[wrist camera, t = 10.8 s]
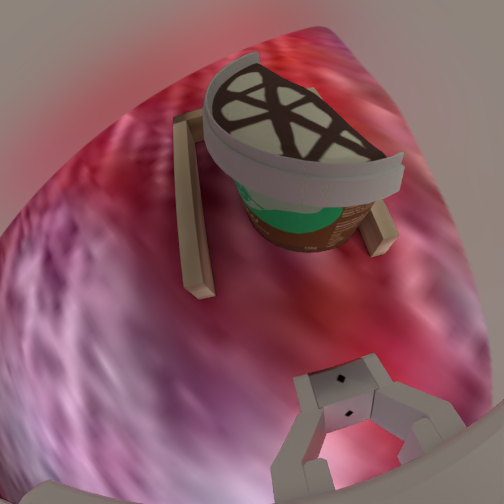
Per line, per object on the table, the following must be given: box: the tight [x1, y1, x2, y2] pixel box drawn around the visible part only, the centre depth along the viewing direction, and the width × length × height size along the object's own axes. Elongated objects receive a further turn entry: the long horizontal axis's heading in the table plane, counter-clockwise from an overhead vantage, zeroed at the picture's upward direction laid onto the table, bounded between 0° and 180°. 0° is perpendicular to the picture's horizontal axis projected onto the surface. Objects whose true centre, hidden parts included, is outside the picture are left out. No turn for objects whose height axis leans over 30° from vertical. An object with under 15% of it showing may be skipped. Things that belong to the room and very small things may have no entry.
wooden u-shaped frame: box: [173, 87, 399, 300], centre depth 20 cm, size 13×16×3 cm
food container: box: [203, 51, 405, 253], centre depth 15 cm, size 12×6×10 cm, turn 31°
